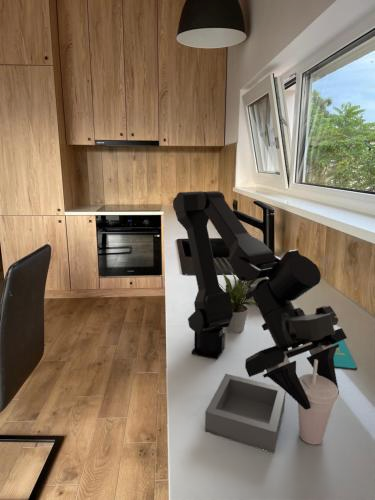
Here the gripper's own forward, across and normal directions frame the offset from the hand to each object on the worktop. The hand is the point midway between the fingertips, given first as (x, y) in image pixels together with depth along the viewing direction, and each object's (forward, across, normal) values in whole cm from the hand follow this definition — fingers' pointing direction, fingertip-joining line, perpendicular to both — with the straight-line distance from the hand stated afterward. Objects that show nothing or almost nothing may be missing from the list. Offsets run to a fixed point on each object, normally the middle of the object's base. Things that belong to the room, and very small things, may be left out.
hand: (322, 401), depth 55 cm
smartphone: (-6, +27, +18) cm, 33 cm away
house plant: (-21, +14, +33) cm, 41 cm away
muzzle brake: (-34, +38, +47) cm, 69 cm away
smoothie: (+5, 0, +6) cm, 8 cm away
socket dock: (-2, -7, +13) cm, 14 cm away
